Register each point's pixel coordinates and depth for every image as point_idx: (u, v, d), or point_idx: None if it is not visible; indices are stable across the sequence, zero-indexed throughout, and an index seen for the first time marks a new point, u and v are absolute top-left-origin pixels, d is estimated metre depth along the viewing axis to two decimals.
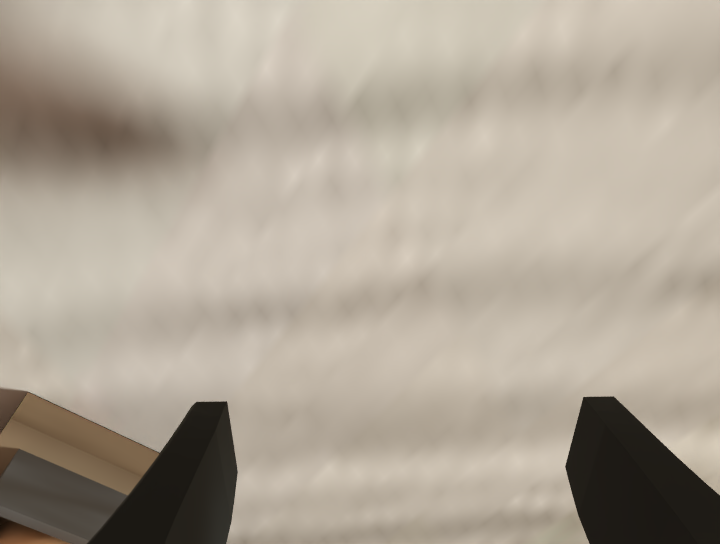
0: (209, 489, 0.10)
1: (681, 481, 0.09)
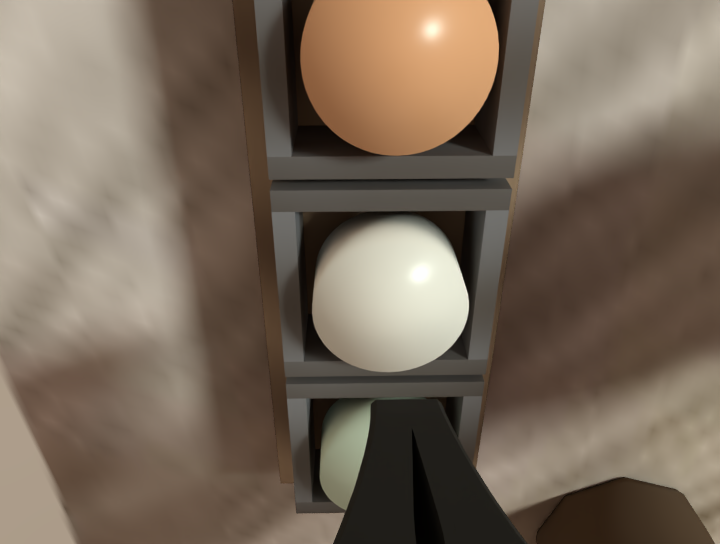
0: None
1: (460, 484, 0.09)
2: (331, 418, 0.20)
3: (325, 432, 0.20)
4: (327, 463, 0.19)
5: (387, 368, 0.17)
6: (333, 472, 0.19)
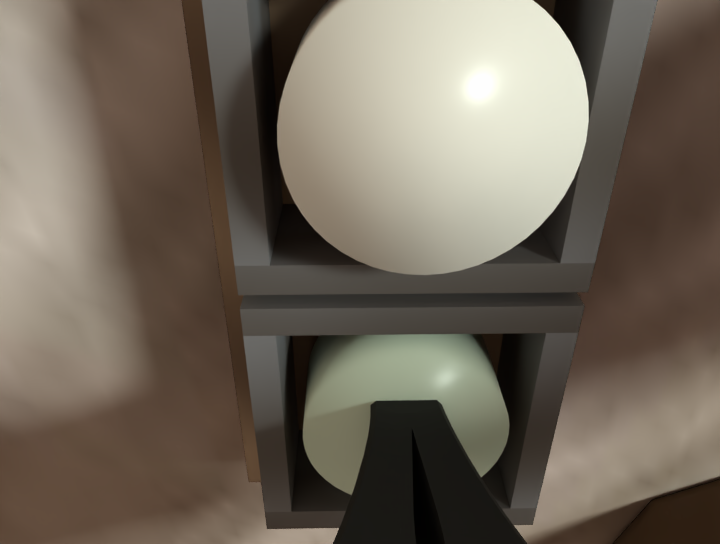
0: None
1: (460, 484, 0.09)
2: (322, 348, 0.13)
3: (312, 369, 0.13)
4: (314, 415, 0.12)
5: (420, 266, 0.09)
6: (325, 429, 0.12)
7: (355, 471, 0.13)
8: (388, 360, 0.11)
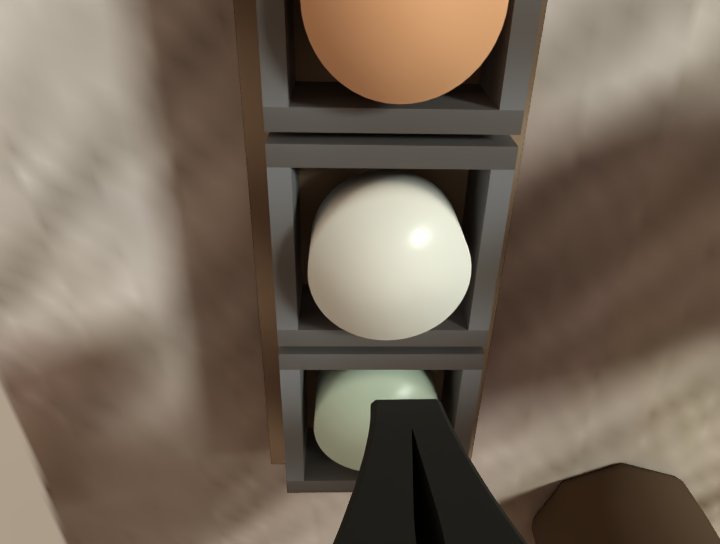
0: None
1: (460, 485, 0.09)
2: (326, 372, 0.20)
3: (320, 386, 0.20)
4: (321, 414, 0.19)
5: (384, 335, 0.16)
6: (328, 423, 0.19)
7: (346, 451, 0.20)
8: (367, 382, 0.19)
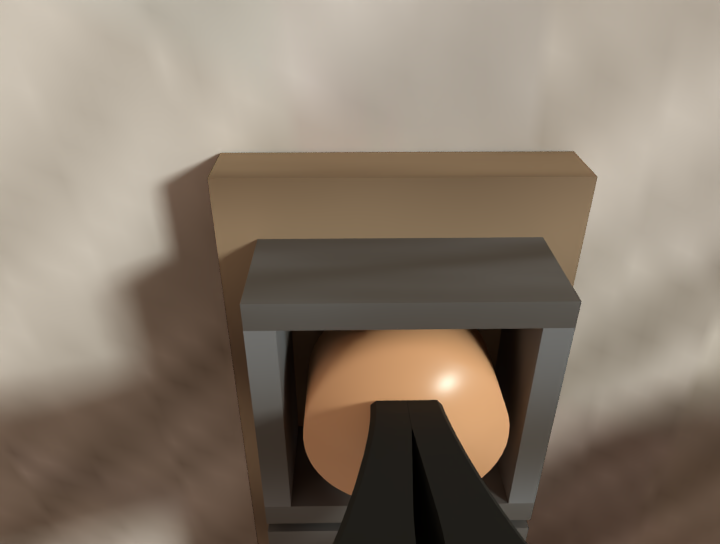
0: None
1: (460, 485, 0.09)
2: None
3: None
4: None
5: None
6: None
7: None
8: None
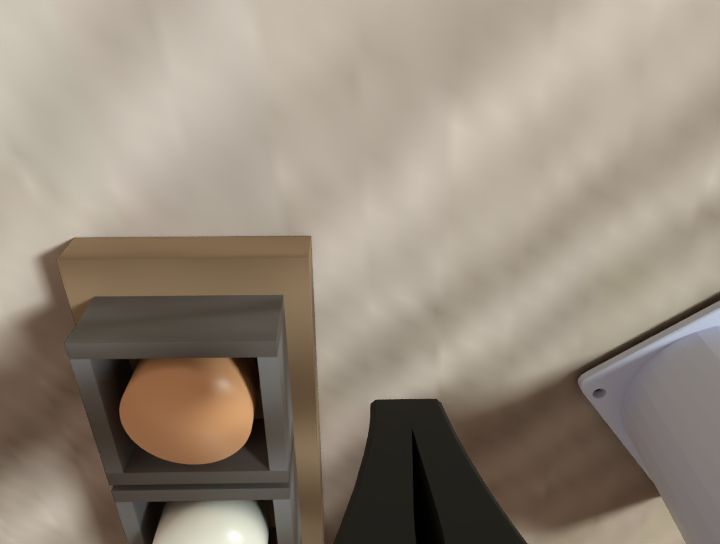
0: None
1: (460, 485, 0.09)
2: None
3: None
4: None
5: None
6: None
7: None
8: None
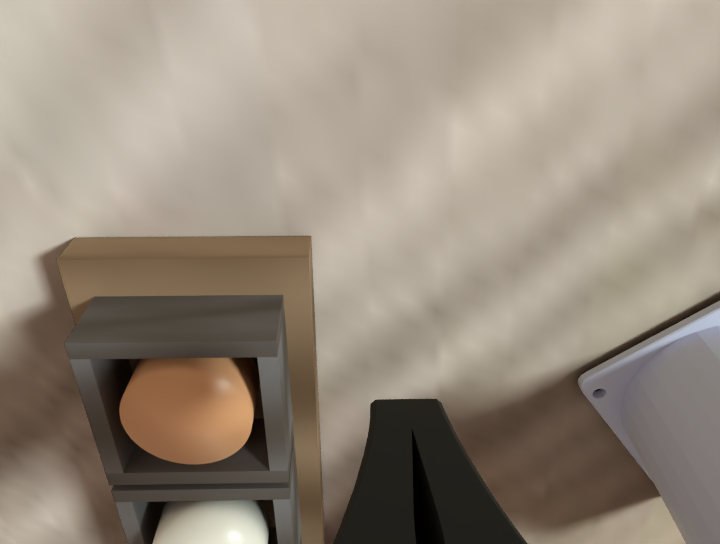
0: None
1: (460, 485, 0.09)
2: None
3: None
4: None
5: None
6: None
7: None
8: None
